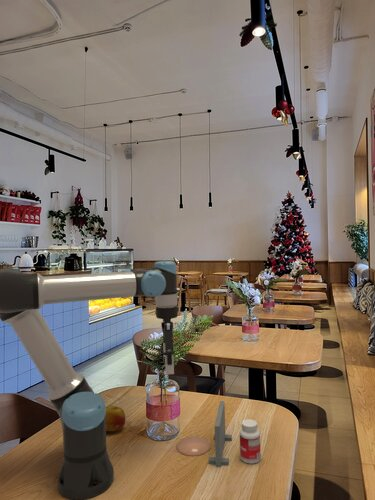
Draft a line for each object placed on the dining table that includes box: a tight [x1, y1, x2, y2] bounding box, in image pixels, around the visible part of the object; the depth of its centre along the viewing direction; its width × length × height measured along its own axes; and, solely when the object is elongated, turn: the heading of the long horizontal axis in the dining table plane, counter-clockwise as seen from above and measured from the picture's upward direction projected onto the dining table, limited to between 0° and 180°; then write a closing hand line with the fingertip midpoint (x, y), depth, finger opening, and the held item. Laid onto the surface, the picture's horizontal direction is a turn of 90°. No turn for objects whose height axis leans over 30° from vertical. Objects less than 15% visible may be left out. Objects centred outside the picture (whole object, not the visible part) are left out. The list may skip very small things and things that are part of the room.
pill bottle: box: [239, 419, 262, 464], centre depth 115 cm, size 6×6×11 cm
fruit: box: [105, 405, 126, 432], centre depth 137 cm, size 10×9×8 cm
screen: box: [208, 400, 233, 468], centre depth 121 cm, size 18×6×12 cm, turn 170°
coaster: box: [176, 435, 212, 457], centre depth 123 cm, size 11×11×1 cm
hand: (168, 367), depth 131 cm, fingers open, 13 cm apart
